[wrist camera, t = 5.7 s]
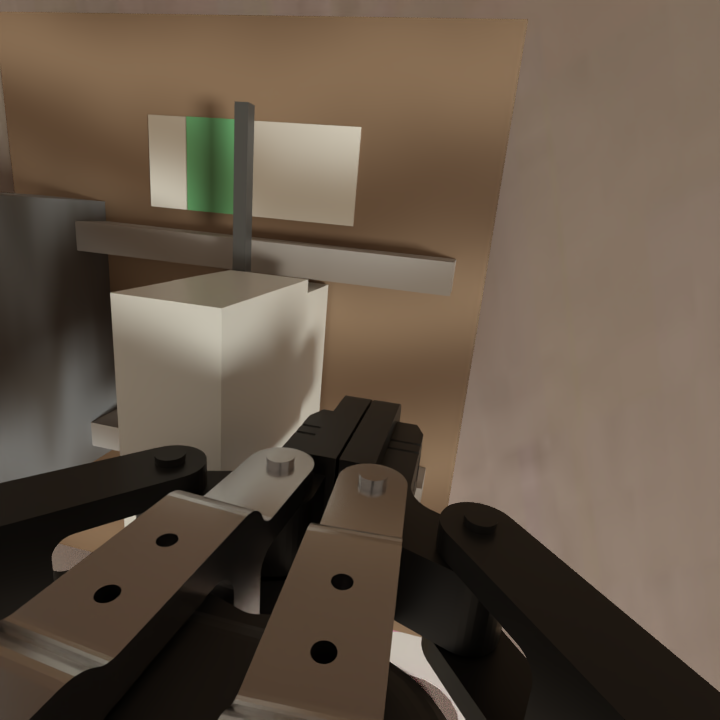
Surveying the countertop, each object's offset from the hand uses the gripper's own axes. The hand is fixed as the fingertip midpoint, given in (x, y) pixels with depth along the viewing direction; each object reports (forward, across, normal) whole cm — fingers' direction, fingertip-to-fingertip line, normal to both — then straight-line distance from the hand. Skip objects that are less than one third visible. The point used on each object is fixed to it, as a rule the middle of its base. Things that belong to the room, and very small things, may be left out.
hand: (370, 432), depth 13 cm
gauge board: (+6, +6, 0) cm, 9 cm away
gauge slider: (+4, +5, -2) cm, 7 cm away
